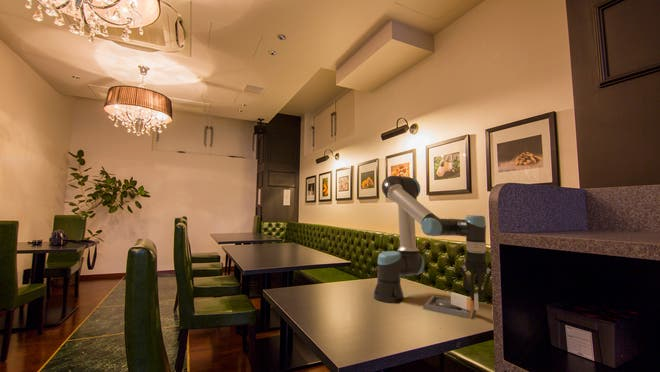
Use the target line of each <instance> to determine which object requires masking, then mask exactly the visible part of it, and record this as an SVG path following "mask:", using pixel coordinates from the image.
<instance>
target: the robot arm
mask: <svg viewBox="0 0 660 372" xmlns="http://www.w3.org/2000/svg"><path fill="white" fill-rule="evenodd" d="M381 190H382V193H383V196H385V197H386V198H387V199H389V201H394V203H396V204H397V208H398V212H397V213H398V230H399V231H398V232H399V248H398V249H397V251H395V250H391V251H390V250H387V251H382V252H380V253H379V254H378V256H377V257H378V258H377V281H376V285H375V288H374V291H373V298H374V299H375V300H377V301H379V302H383V303H394V304H395V303H397V304H398V303H401V302H402V303H403V301H404V297H405V296H404V292H403V289H402V285H401V277H408V276H411V277H413V276H417V275H420V274H421V273H422V272H423V271H424V269H425V258H424V257H423V255H422V254H421V253H420V249H419V248H417V240H416V222H417V223H418V224H419V225H420V229H421V230H422V233H424V235H426V236H431V237H443V236H444V237H445V236H447V237H449V236H451V237H453V236H454V237H456V236H457V237H464V238H465V246H466V247H465V250H466V252H465V253H466V254H465V255H466V256H465V258H466V261H465V263H464V265H461V266H460V267H459V270H460V272H461V273H462V276H463V282H464V285H465V288H466V289H465V290H466V291H467V292H469V293H470V294H471V295H470V298H471V300H472V301H473V307H474V310H473V311H479V309H480V307H479V305H480V303H482V300H483V299H482V295H483V294H487V291H488V287H489V284H490V281H491V277H492V275H491V270H492V269H490V268H489V266H488V264H487V254H486V252H487V239H486V238H487V237H486V236H487V229H486V228H487V225H486V224H487V223H486V222H487V221H486V217H485V216H484V215H475V214H474V215H470V214H469V215H466V216H465V219H460V218H459V219H458V218H441V217H438V216H437V215H435V214H434V213H433V212H432V211H431V210H429V208H427V207H426V206H424V205H423V204H422V203H421V202H419V200H417V197H419V195H420V193H421V185H420V183H419V181H418V180H417V179H416V178H414V177H410V176H400V175H389V176H387V177H386V178H384V179H383V181H382V183H381ZM466 271H468V272H469V273H470V283H469V279H468V275H467V272H466ZM485 272H486V274H487V275H486V279H485V282H484V286H482V275H483V274H484V273H485ZM476 275H477V292H476V291H475V288H476V287H475V282H476V281H475V280H476V279H475V278H476V277H475V276H476ZM482 287H483V288H482Z"/></svg>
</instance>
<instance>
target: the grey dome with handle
mask: <svg viewBox="0 0 660 372" xmlns="http://www.w3.org/2000/svg"><path fill="white" fill-rule="evenodd" d="M450 299H451V300H449V299H437V300H436V306H439V307H444V308H449V309H455V310H460V311H462V308H463V309H466V310H469V311H472V310H473V307H474V301H472V300H471V296H466V295H463V294H460V293H456V292H451V293H450ZM473 311H474V310H473Z"/></svg>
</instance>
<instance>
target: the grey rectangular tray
mask: <svg viewBox="0 0 660 372" xmlns="http://www.w3.org/2000/svg"><path fill="white" fill-rule="evenodd" d="M437 299H449V300H451V297H450V298H449V297H443V296H437V295H431V296H430V297H429V298H428V300H427V301H426V302H425V303H424V304H423V307H421V309H422V310H426V311H430V312H435V313H440V314H445V315H449V316H450V315H452V316H455V317H460V318H465V319H470V320H471V319H472V317H473V313H474V311H475V310H474V306H473V310H472V311H469V310H466V309H463V308H462V311H460V310H455V309H449V308H444V307H439V306H436V300H437Z"/></svg>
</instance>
